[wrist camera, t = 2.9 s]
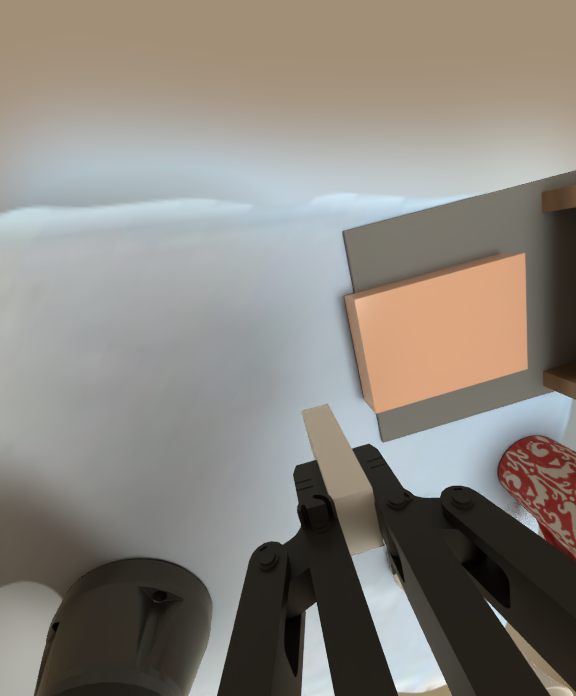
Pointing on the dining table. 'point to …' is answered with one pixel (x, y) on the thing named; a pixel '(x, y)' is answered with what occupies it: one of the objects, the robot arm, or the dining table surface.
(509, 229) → the mat
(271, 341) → the dining table surface
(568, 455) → the mug
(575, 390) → the grooved wooden block
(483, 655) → the robot arm
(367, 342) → the tile
